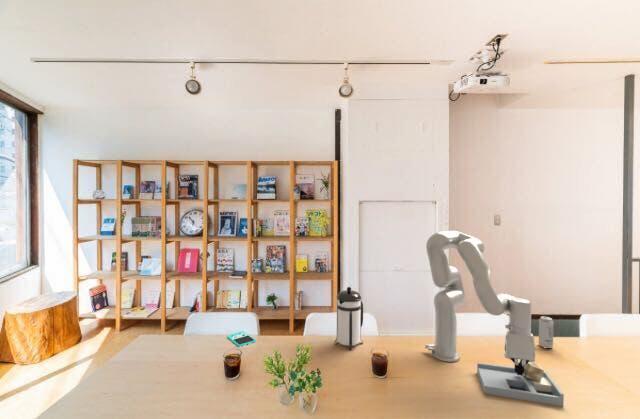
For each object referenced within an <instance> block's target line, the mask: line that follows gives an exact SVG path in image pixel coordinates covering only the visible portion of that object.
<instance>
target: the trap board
mask: <svg viewBox="0 0 640 419" xmlns="http://www.w3.org/2000/svg"><path fill="white" fill-rule="evenodd" d="M476 368H477V369H476V373H477V376H478V379H479V382H480V384H481V385H480V386H481V388H482V391H483V393H484V394H485V395H490V396H497V397H502V398H503V397H504V398H508V399H509V398H510V399H515V400H522V401H528V402H535V403H540V404H545V405H552V406H556V407H557V406H558V407H564V400H565V399H564V396H565V395H564V392H563V391H562V390H561V389H560V387H559V386H558V384H557V383H556V382H555V381H554V380H553V378H552V377H551V376H550V374H549V373H548V372H547V371H544V372H543V375H542V379H541V382H538V381H535V380H533V379H530V378H527V377H526V376H525V375H524V373H522V376H521V375H517V373H516V372H515V369H514V368H515V366H514V367H512V366H506V365H498V364H494V363H493V364H492V363H485V362H478V361H477V364H476Z"/></svg>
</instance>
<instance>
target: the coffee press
mask: <svg viewBox="0 0 640 419" xmlns="http://www.w3.org/2000/svg"><path fill="white" fill-rule="evenodd" d="M336 299H337V301H336V302H337V303H336V338H335V340H334V342H333V344H334V345H335V346H337V345H338V344H340V345H343V346H347V347H348V350H349V351H353V346H356V345H358V344H360V345H363V344H364V341H363V339H362V333H361V331H362V327H363V322H364V304H363V302H362V296H361V294H360V293H359V292H358V291H356V290H352V288H351V286H347V288H346V290H341V291H339V292H338V293H337V295H336ZM336 342H337V343H336Z"/></svg>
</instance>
